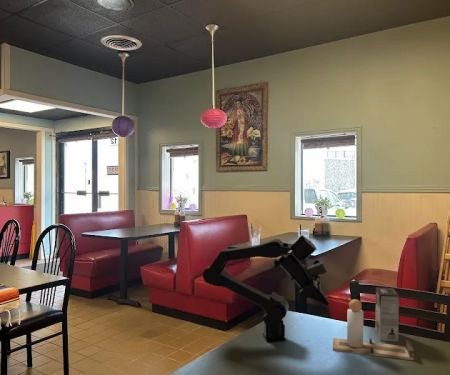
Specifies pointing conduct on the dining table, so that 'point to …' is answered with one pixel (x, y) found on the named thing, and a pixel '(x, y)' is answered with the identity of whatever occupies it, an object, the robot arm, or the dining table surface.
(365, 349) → the level stand
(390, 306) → the coffee box
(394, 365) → the dining table surface
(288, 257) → the robot arm
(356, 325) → the post
